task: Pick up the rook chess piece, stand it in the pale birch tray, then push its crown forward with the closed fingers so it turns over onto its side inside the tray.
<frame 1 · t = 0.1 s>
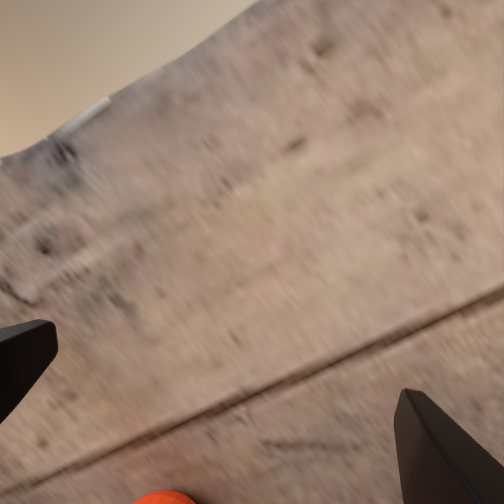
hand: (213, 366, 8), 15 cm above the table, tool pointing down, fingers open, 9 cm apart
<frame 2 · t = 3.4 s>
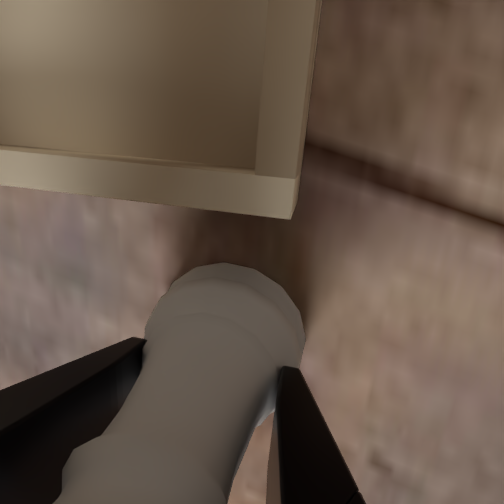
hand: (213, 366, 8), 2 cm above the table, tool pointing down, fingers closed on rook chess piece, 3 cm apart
rook chess piece: (234, 322, 10), on the table, touching gripper
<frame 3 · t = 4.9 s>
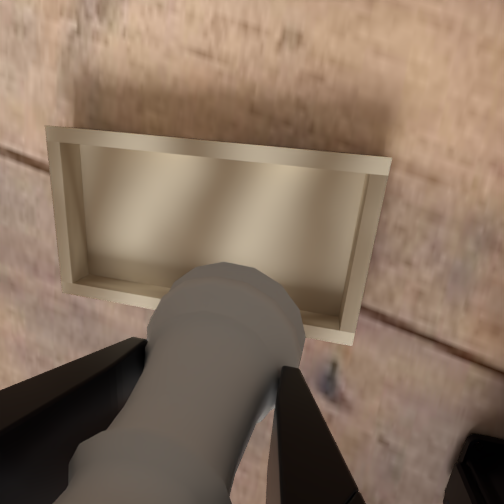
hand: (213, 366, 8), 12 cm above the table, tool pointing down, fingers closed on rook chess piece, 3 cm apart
rook chess piece: (235, 320, 11), point 10 cm above the table, touching gripper
tray: (212, 227, 20), on the table
when the fingers open (4 cm above the table, at t = 6.7 s): rook chess piece stays where it is, resting on tray.
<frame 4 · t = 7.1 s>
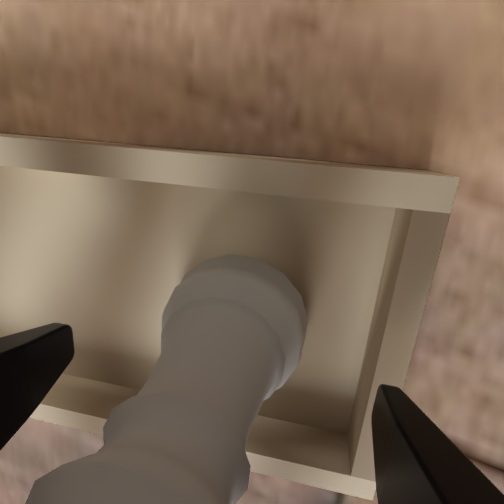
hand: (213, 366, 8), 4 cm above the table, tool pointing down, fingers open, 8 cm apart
rook chess piece: (242, 310, 11), resting on tray
tray: (138, 285, 12), on the table
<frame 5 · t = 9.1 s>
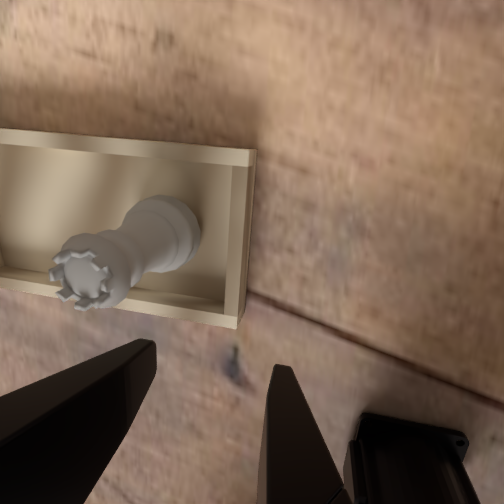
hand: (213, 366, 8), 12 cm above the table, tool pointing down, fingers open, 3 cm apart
rook chess piece: (169, 229, 20), resting on tray
tray: (112, 219, 21), on the table
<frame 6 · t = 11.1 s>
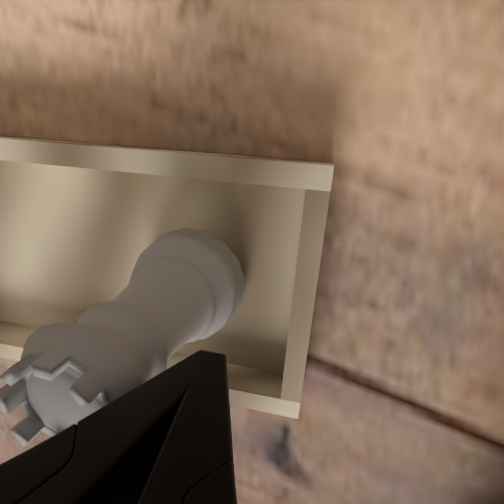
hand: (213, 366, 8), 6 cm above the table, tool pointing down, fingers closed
rook chess piece: (199, 274, 14), resting on tray, touching gripper
tray: (119, 257, 15), on the table
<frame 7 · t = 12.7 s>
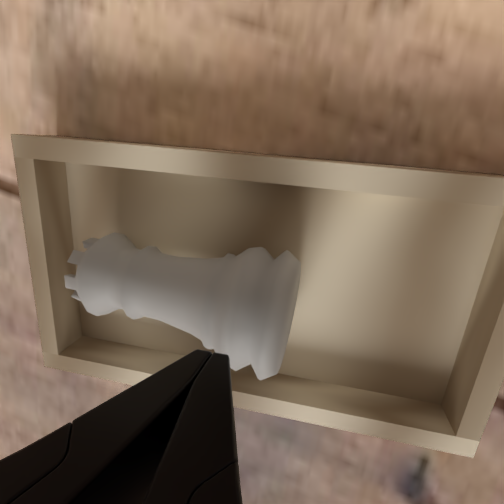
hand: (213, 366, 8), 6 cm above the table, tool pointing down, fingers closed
rook chess piece: (295, 318, 11), point 3 cm above the table, touching tray
tray: (256, 276, 14), on the table
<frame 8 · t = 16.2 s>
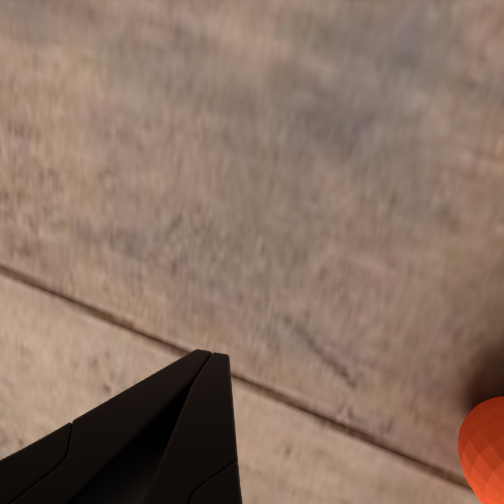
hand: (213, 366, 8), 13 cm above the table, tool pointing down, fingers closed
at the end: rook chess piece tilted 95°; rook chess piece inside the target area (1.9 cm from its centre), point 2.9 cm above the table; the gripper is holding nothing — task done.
